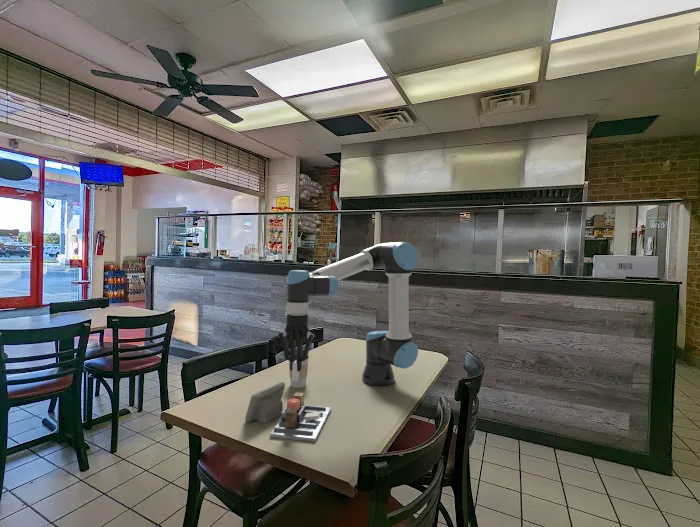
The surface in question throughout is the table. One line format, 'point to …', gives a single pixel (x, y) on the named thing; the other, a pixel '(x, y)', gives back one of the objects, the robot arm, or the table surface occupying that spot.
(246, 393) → the table surface
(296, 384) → the coffee cup
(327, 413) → the grey compartment tray
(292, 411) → the dark brown wooden block
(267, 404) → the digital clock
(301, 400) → the tan wooden block
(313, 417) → the block
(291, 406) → the button
